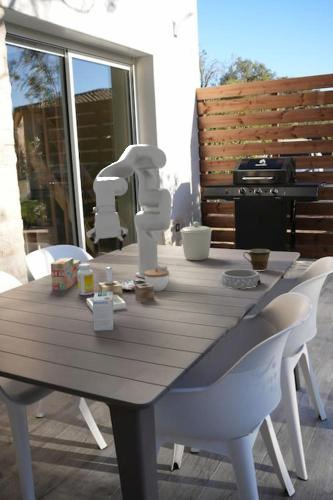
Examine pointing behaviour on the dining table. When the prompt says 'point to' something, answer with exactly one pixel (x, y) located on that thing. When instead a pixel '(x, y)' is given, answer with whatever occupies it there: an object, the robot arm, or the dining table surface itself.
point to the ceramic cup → (259, 258)
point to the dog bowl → (240, 278)
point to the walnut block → (144, 292)
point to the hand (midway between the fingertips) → (108, 251)
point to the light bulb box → (103, 311)
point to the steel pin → (109, 276)
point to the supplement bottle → (85, 280)
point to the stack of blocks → (64, 273)
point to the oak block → (111, 288)
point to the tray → (117, 303)
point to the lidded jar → (157, 278)
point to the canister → (196, 241)
